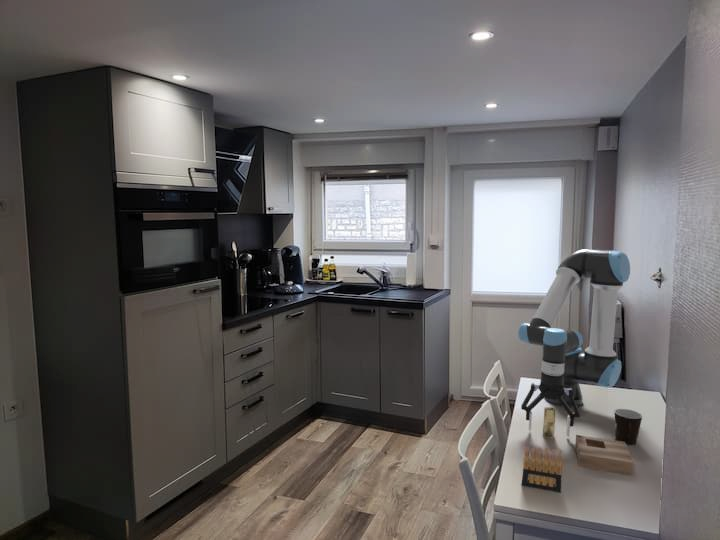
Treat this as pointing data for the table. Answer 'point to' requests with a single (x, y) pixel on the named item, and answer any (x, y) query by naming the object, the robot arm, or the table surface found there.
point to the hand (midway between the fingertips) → (548, 431)
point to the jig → (604, 454)
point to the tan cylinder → (549, 421)
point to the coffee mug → (627, 425)
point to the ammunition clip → (542, 470)
